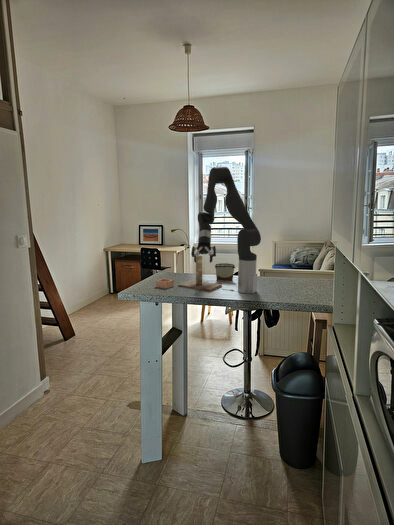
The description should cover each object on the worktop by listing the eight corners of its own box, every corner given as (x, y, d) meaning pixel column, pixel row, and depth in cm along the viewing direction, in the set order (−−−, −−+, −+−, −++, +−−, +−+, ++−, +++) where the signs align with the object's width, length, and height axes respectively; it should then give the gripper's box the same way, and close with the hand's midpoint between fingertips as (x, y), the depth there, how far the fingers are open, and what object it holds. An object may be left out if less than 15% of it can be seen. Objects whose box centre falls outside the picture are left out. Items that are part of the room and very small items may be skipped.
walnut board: (221, 286, 198) (221, 284, 198) (210, 292, 186) (210, 289, 185) (190, 282, 207) (190, 280, 207) (177, 287, 195) (177, 284, 195)
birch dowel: (203, 284, 196) (203, 255, 194) (200, 285, 193) (200, 256, 191) (197, 283, 198) (197, 255, 195) (194, 284, 195) (194, 256, 192)
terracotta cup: (173, 286, 196) (173, 279, 195) (166, 289, 190) (166, 282, 189) (163, 285, 200) (163, 278, 199) (155, 287, 193) (155, 280, 193)
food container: (234, 279, 218) (235, 263, 216) (234, 281, 212) (235, 265, 210) (214, 278, 219) (215, 262, 217) (214, 280, 213) (214, 264, 211)
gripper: (192, 235, 210) (189, 258, 202) (215, 235, 208) (214, 258, 200) (193, 243, 217) (191, 265, 208) (217, 242, 215) (216, 265, 206)
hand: (203, 262), depth 204 cm, fingers open, 8 cm apart
